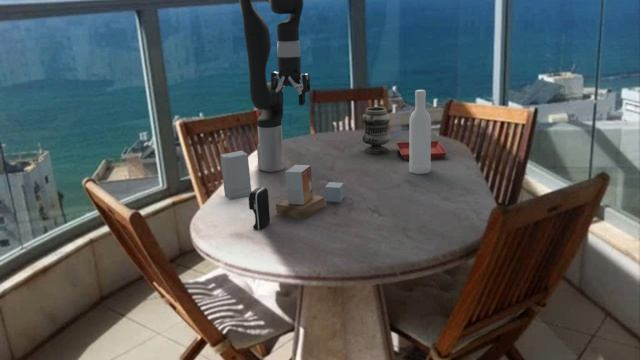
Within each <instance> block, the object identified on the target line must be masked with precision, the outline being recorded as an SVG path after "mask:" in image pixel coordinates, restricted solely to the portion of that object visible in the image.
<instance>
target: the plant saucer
mask: <svg viewBox="0 0 640 360" xmlns="http://www.w3.org/2000/svg"><path fill="white" fill-rule="evenodd" d="M395 145H396V146H397V149H398V151H399V153H400V155H401V157H402V158H403V160H407V161H408V160H409V141H406V142H405V141H401V142H396V143H395ZM446 154H447V151H446V149H445V147H444V146H443V145H442V144H441V143H440V141H438V140H435V141H434V140H433V141H432V140H431V160H432V159H434V158H436V159H442V158H443V157H444V156H445V155H446ZM434 160H435V159H434Z"/></svg>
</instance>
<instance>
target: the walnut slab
mask: <svg viewBox="0 0 640 360" xmlns="http://www.w3.org/2000/svg"><path fill="white" fill-rule="evenodd" d="M275 207H276V215H278V214H279V216H283V215H286V216H285V217H288V216H291V217H290V218H293V217H294V218H293V219H297V218H298V220H302V219H303V220H305V219H307V218H308V217H311V216H312V215H314V214H316V213H317V212H319V211H322V210H323V209H324V208H326V199H325V197H324V196H320V195H319V196H318V195H314V194H313V198H311V199H310V200H309V201H307V202H306V203H305V204H304V205H299V204H288V199H287V198H285V199H284V200H282V201H280V202H278V203H276V205H275Z"/></svg>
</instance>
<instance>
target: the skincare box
mask: <svg viewBox="0 0 640 360" xmlns="http://www.w3.org/2000/svg"><path fill="white" fill-rule="evenodd" d="M219 157H220V158H219V159H220V168H221V175H222V182H223V183H222V184H223V190H224V195H225V196H226V197H227V198H228V199H229V200H233V199H239V198H243V197H249V194H250V193H251V192H252V185H251V184H252V183H251V175H250V163H249V155H248V153H247V152H245V151H243V150H237V151H232V152H228V153H222V154H219Z"/></svg>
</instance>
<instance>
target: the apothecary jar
mask: <svg viewBox="0 0 640 360" xmlns="http://www.w3.org/2000/svg"><path fill="white" fill-rule="evenodd" d="M364 112H365V113H364V114H363V115H362V116H361V121H362V122H363V123H364V133H363V134H362V135H361V140H362V142H363V143H364V144H367V145H369V146H368V147H366V148H365V149H364V152H365V153H367V154H383V153H388V151H389V148H387V147H385V146H383V145H386V144H388V143H389V142H390V141H391V139H392V135H391V134H390V133H389V130H388V129H389V128H388V127H389V126H388V123H389V122H390V121H391V119H392V117H391V115H390V113H389V112H388V110H387V108H386V107H384V106H370V107H366V109H365V111H364Z"/></svg>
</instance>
